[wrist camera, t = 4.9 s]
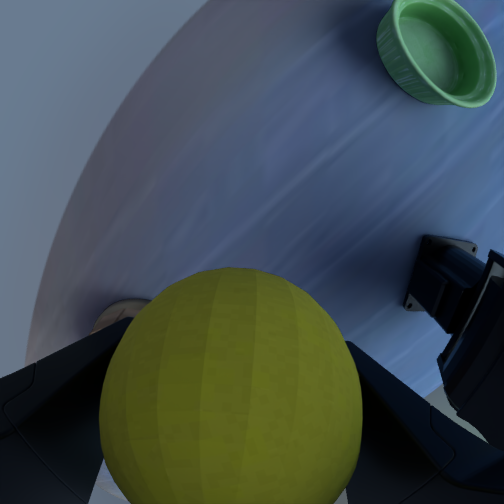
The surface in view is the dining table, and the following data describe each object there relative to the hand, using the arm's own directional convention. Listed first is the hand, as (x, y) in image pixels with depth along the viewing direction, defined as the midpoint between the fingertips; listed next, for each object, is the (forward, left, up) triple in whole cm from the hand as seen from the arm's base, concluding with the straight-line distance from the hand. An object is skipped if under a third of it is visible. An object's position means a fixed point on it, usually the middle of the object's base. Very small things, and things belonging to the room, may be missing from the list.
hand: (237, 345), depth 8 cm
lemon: (0, 0, -2) cm, 2 cm away
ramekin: (-11, -15, -12) cm, 22 cm away
